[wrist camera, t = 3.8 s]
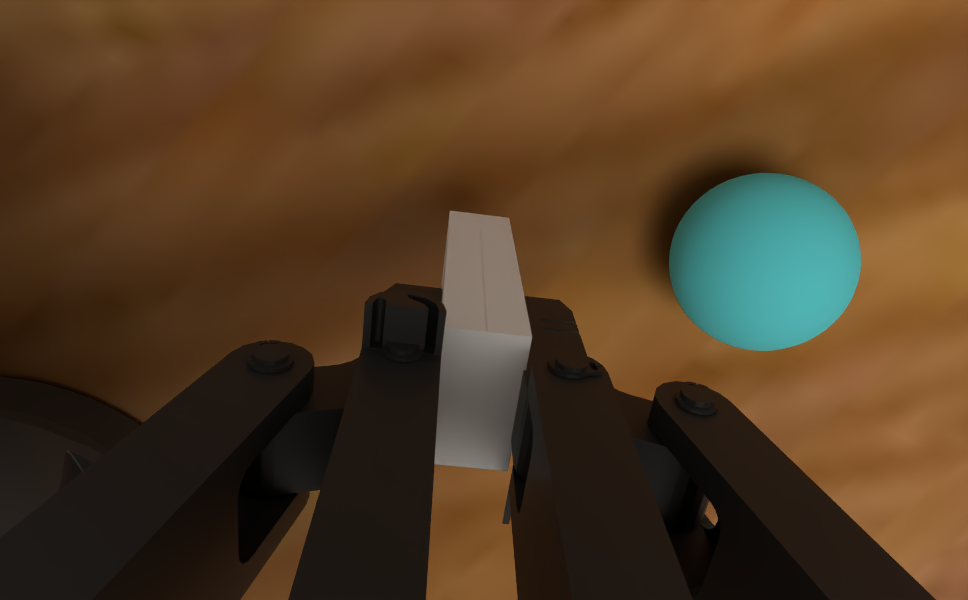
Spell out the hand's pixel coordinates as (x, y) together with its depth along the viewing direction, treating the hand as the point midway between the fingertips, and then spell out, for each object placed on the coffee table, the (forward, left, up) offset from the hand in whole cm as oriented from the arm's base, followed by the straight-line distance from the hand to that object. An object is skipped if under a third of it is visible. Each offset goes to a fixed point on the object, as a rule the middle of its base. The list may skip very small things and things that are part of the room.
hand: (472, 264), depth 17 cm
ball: (+9, 0, -3) cm, 10 cm away
